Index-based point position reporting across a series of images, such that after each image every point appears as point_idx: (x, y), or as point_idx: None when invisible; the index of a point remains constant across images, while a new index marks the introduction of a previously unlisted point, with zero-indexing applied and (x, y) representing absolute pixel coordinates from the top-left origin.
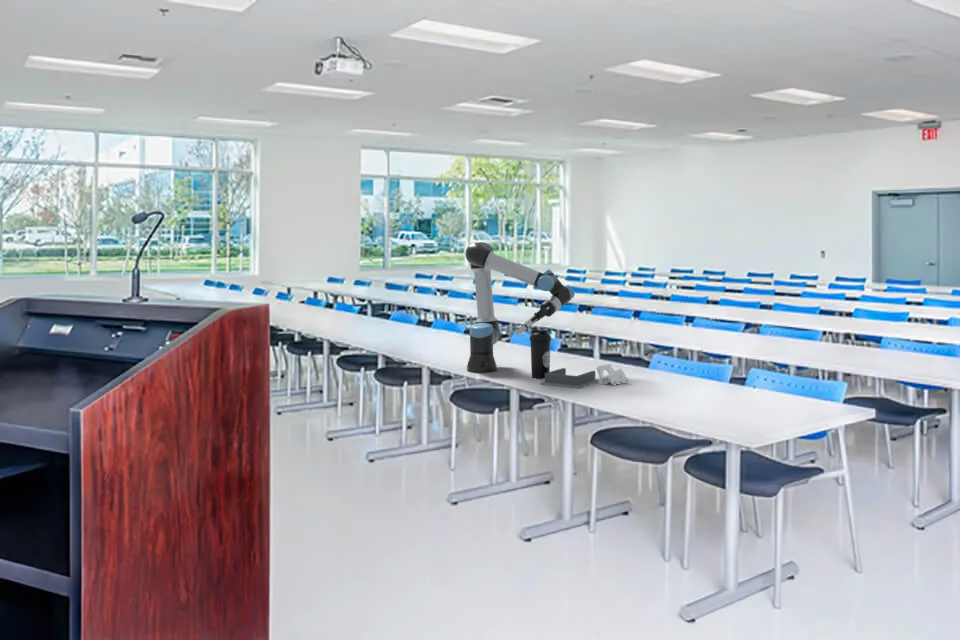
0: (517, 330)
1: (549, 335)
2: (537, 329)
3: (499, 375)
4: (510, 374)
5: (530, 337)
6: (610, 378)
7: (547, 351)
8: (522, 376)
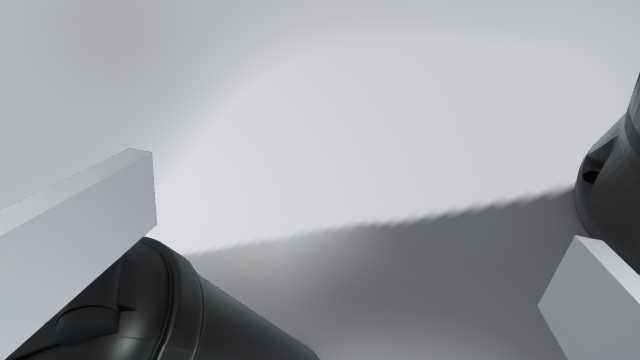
0: (598, 278)
1: None
2: (58, 315)
3: (446, 231)
4: (450, 294)
5: (145, 237)
6: None
7: None
8: (361, 321)
